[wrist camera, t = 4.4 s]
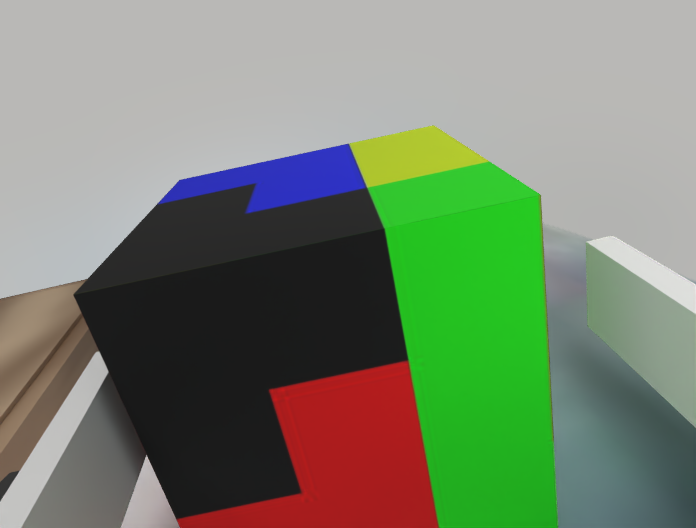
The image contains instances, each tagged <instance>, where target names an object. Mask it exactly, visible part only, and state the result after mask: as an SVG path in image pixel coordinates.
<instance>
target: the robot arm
mask: <svg viewBox="0 0 696 528" xmlns="http://www.w3.org/2000/svg"><path fill="white" fill-rule="evenodd" d="M586 268H587V323H588V327H589V328H590V329H591V330H592V331H593V332H595V333H596V334H597V335H598V336H599V337H600V338H601V339H602V340H603V341H604V342H605V343H606V344H607V345H608V346H609V347H610V348H611V349H613V350H614V351H615V352H616V353H617V354H618V355H619V356H620V357H621V358H622V359H623V360H624V361H625V362H626V363H627V364H628V365H630V366H631V367H632V368H633V369H634V370H635V371H636V372H637V373H638V374H639V375H640V376H641V377H642V378H643V379H644V380H645V381H647V382H648V383H649V384H650V385H651V386H652V387H653V388H654V389H655V390H656V391H657V392H658V393H659V394H660V395H661V396H662V397H663V398H665V399H666V400H667V401H668V402H669V403H670V404H671V405H672V406H673V407H674V408H675V409H676V410H677V411H678V412H679V413H680V414H682V415H683V416H684V417H685V418H686V419H687V420H688V421H689V422H690V423H691V424H692V425H693V426H694V427H695V428H696V284H694V283H692V282H691V281H689V280H687V279H686V278H684V277H682V276H680V275H679V274H677V273H675V272H674V271H672V270H670V269H669V268H667V267H665V266H663V265H662V264H660V263H658V262H656V261H655V260H653V259H652V258H650V257H648V256H646V255H645V254H643V253H641V252H640V251H638V250H636V249H635V248H633V247H631V246H629V245H628V244H626V243H624V242H622V241H621V240H619V239H618V238H616V237H614V236H609V237H604V238H600V239H595V240H591V241H587V242H586ZM145 457H146V452H145V450H144V448H143V446H142V443H141V441H140V439H139V437H138V435H137V433H136V430H135V428H134V426H133V424H132V422H131V419H130V417H129V415H128V413H127V411H126V409H125V406H124V404H123V402H122V400H121V398H120V396H119V393H118V391H117V389H116V387H115V385H114V383H113V380H112V378H111V376H110V374H109V372H108V370H107V367H106V365H105V363H104V361H103V359H102V356H101V354H100V352H96V353H95V354H94V356H93V357H92V359H91V360H90V362H89V364H88V365H87V367H86V368H85V370H84V371H83V373H82V374H81V376H80V378H79V379H78V381H77V382H76V384H75V385H74V387H73V389H72V390H71V392H70V393H69V395H68V396H67V398H66V399H65V401H64V403H63V404H62V406H61V407H60V409H59V410H58V412H57V414H56V415H55V417H54V418H53V420H52V421H51V423H50V425H49V426H48V428H47V429H46V431H45V432H44V434H43V435H42V437H41V439H40V440H39V442H38V443H37V445H36V446H35V448H34V450H33V451H32V453H31V454H30V456H29V457H28V459H27V460H26V462H25V464H24V465H23V467H22V468H21V470H19V471H15V472H11V473H9V474H8V475H7V476H6V477H5V478H4V479H3V480H2V481H0V528H120V527H121V525H122V522H123V519H124V516H125V513H126V511H127V508H128V505H129V502H130V499H131V496H132V494H133V491H134V488H135V485H136V482H137V480H138V477H139V474H140V471H141V468H142V465H143V463H144V460H145Z"/></svg>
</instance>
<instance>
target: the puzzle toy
mask: <svg viewBox="0 0 696 528" xmlns="http://www.w3.org/2000/svg"><path fill="white" fill-rule="evenodd" d="M73 296H74V298H75V300H76V302H77V304H78V306H79V309H80V311H81V313H82V315H83V317H84V320H85V322H86V324H87V326H88V328H89V330H90V333H91V335H92V337H93V339H94V341H95V343H96V346H97V348H98V350H99V352H100V354H101V356H102V359H103V361H104V363H105V365H106V367H107V370H108V372H109V374H110V376H111V378H112V380H113V383H114V385H115V387H116V389H117V391H118V393H119V396H120V398H121V400H122V402H123V404H124V406H125V409H126V411H127V413H128V415H129V417H130V419H131V422H132V424H133V426H134V428H135V430H136V433H137V435H138V437H139V439H140V441H141V443H142V446H143V448H144V450H145V452H146V454H147V456H148V459H149V461H150V463H151V465H152V467H153V469H154V472H155V474H156V476H157V478H158V480H159V483H160V485H161V487H162V489H163V491H164V493H165V496H166V498H167V500H168V502H169V504H170V506H171V509H172V511H173V513H174V515H175V517H176V519H177V522H178V524H179V526H180V528H558V511H557V493H556V474H555V455H554V436H553V417H552V398H551V379H550V360H549V341H548V323H547V304H546V285H545V266H544V247H543V228H542V210H541V195H540V194H539V193H537V192H536V191H534V190H532V189H531V188H529V187H528V186H526V185H525V184H523V183H522V182H520V181H519V180H517V179H516V178H514V177H512V176H511V175H509V174H508V173H506V172H505V171H503V170H502V169H500V168H499V167H497V166H496V165H494V164H492V163H491V162H489V161H488V160H486V159H485V158H483V157H481V156H480V155H479V154H477V153H475V152H474V151H472V150H471V149H469V148H468V147H466V146H465V145H463V144H462V143H460V142H458V141H457V140H455V139H454V138H452V137H451V136H449V135H448V134H446V133H445V132H443V131H442V130H440V129H438V128H437V127H435V126H429V127H424V128H419V129H415V130H410V131H405V132H401V133H396V134H392V135H387V136H382V137H378V138H373V139H368V140H364V141H359V142H354V143H350V144H345V145H340V146H336V147H331V148H326V149H322V150H317V151H312V152H308V153H303V154H298V155H294V156H289V157H285V158H280V159H275V160H271V161H266V162H261V163H257V164H252V165H247V166H243V167H238V168H234V169H229V170H225V171H220V172H215V173H210V174H206V175H201V176H196V177H192V178H187V179H183V180H179V181H178V182H177V184H176V185H175V186H174V187H173V188H172V189H171V190H170V191H169V192H168V193H167V194H166V195H165V196H164V198H163V199H162V200H161V201H160V202H159V203H158V204H157V205H156V206H155V207H154V208H153V209H152V210H151V211H150V212H149V214H148V215H147V216H146V217H145V218H144V219H143V220H142V221H141V222H140V223H139V224H138V225H137V226H136V228H135V229H134V230H133V231H132V232H131V233H130V234H129V235H128V236H127V237H126V238H125V239H124V240H123V242H122V243H121V244H120V245H119V246H118V247H117V248H116V249H115V250H114V251H113V252H112V253H111V254H110V255H109V257H108V258H107V259H106V260H105V261H104V262H103V263H102V264H101V265H100V266H99V267H98V268H97V269H96V271H95V272H94V273H93V274H92V275H91V276H90V277H89V278H88V279H87V280H86V281H85V282H84V283H83V284H82V286H81V287H80V288H79V289H78V290H77V291H76V292H75V293H74V294H73Z"/></svg>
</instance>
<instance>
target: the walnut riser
mask: <svg viewBox="0 0 696 528" xmlns="http://www.w3.org/2000/svg"><path fill="white" fill-rule="evenodd" d="M86 280H87V279H85V280H81V281H77V282H72V283H68V284H64V285H59V286H55V287H50V288H46V289H41V290H37V291H33V292H28V293H24V294H20V295H15V296H11V297H6V298H2V299H0V481H2V480H3V479H4V478H5V477H6V476H7V475H8V474H9V473H11V472H15V471H19V470H21V468H22V467H23V465H24V464H25V462H26V460H27V459H28V457H29V456H30V454H31V453H32V451H33V450H34V448H35V446H36V445H37V443H38V442H39V440H40V439H41V437H42V435H43V434H44V432H45V431H46V429H47V428H48V426H49V425H50V423H51V421H52V420H53V418H54V417H55V415H56V414H57V412H58V410H59V409H60V407H61V406H62V404H63V403H64V401H65V399H66V398H67V396H68V395H69V393H70V392H71V390H72V389H73V387H74V385H75V384H76V382H77V381H78V379H79V378H80V376H81V374H82V373H83V371H84V370H85V368H86V367H87V365H88V364H89V362H90V360H91V359H92V357H93V356H94V354H95V353H96V352H99V350H98V348H97V346H96V343H95V341H94V339H93V337H92V335H91V333H90V330H89V328H88V326H87V324H86V322H85V320H84V317H83V315H82V313H81V311H80V309H79V306H78V304H77V302H76V300H75V298H74V296H73V294H74V293H75V292H76V291H77V290H78V289H79V288H80V287H81V286H82V284H83V283H84V282H85V281H86Z"/></svg>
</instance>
